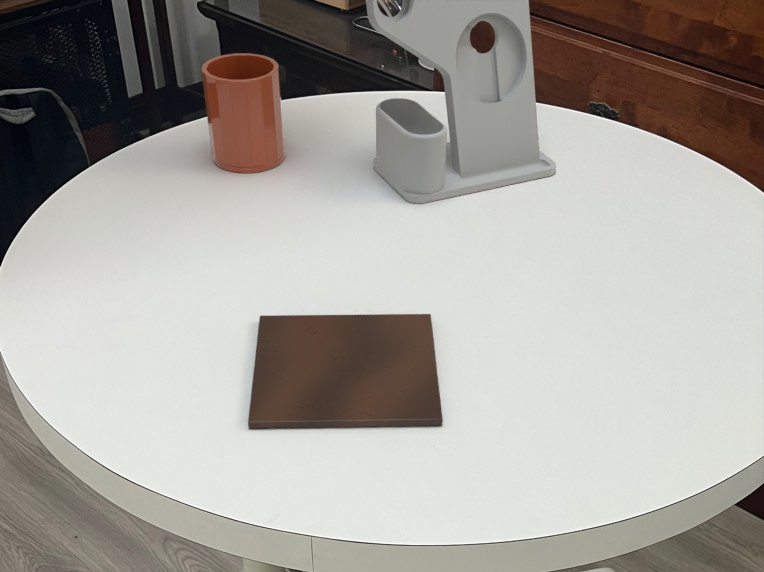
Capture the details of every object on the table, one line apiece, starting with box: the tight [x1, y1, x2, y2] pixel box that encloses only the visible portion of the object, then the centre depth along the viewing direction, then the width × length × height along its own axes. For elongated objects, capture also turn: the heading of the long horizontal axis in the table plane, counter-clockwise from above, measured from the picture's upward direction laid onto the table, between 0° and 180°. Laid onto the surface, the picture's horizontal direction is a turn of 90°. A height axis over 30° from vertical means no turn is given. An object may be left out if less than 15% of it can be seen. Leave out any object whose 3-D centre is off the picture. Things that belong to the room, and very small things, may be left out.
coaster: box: [247, 313, 444, 429], centre depth 77 cm, size 14×14×1 cm
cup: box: [201, 52, 286, 174], centre depth 100 cm, size 7×7×9 cm
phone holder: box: [365, 0, 557, 204], centre depth 96 cm, size 17×10×18 cm, turn 116°
